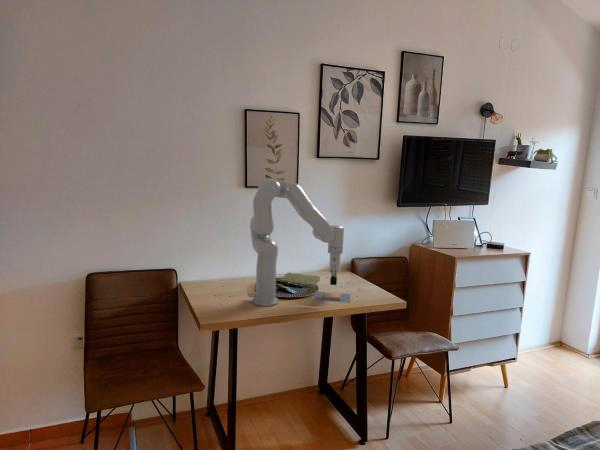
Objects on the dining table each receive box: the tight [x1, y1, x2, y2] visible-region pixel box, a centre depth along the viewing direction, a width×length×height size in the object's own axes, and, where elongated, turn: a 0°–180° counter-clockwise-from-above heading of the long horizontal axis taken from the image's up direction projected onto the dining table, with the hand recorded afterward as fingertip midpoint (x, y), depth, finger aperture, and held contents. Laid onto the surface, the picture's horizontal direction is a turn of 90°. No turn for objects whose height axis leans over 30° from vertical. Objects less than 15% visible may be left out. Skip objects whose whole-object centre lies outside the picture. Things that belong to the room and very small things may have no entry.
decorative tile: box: [280, 272, 321, 288], centre depth 244 cm, size 19×20×4 cm
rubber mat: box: [313, 291, 352, 303], centre depth 220 cm, size 18×13×1 cm
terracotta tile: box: [324, 290, 342, 300], centre depth 219 cm, size 8×2×8 cm
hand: (333, 284), depth 221 cm, fingers closed
